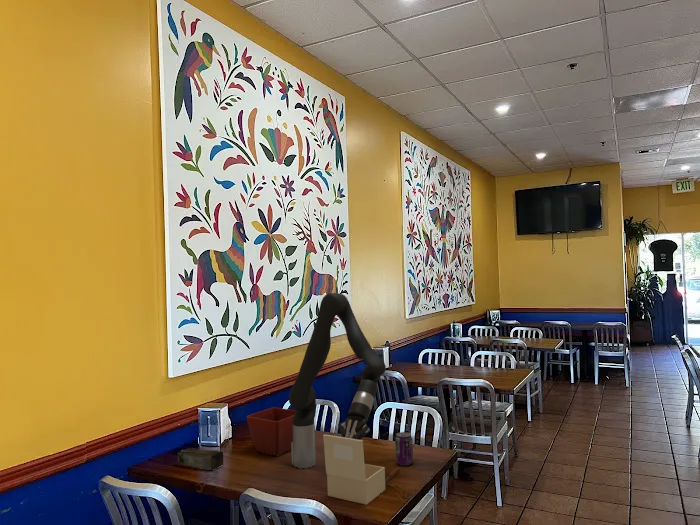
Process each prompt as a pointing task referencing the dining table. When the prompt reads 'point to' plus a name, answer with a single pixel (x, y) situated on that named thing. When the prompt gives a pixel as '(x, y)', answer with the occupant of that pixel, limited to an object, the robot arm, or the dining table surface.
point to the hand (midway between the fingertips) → (345, 450)
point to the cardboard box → (358, 485)
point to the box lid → (344, 457)
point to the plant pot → (272, 430)
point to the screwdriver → (393, 474)
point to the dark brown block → (201, 458)
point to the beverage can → (404, 448)
